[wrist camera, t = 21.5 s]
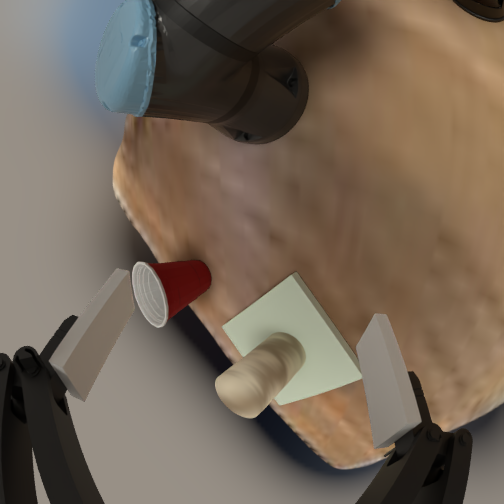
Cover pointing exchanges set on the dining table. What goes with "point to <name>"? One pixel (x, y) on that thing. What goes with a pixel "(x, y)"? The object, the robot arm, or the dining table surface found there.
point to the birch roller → (261, 374)
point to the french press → (482, 10)
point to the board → (298, 338)
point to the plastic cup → (168, 287)
